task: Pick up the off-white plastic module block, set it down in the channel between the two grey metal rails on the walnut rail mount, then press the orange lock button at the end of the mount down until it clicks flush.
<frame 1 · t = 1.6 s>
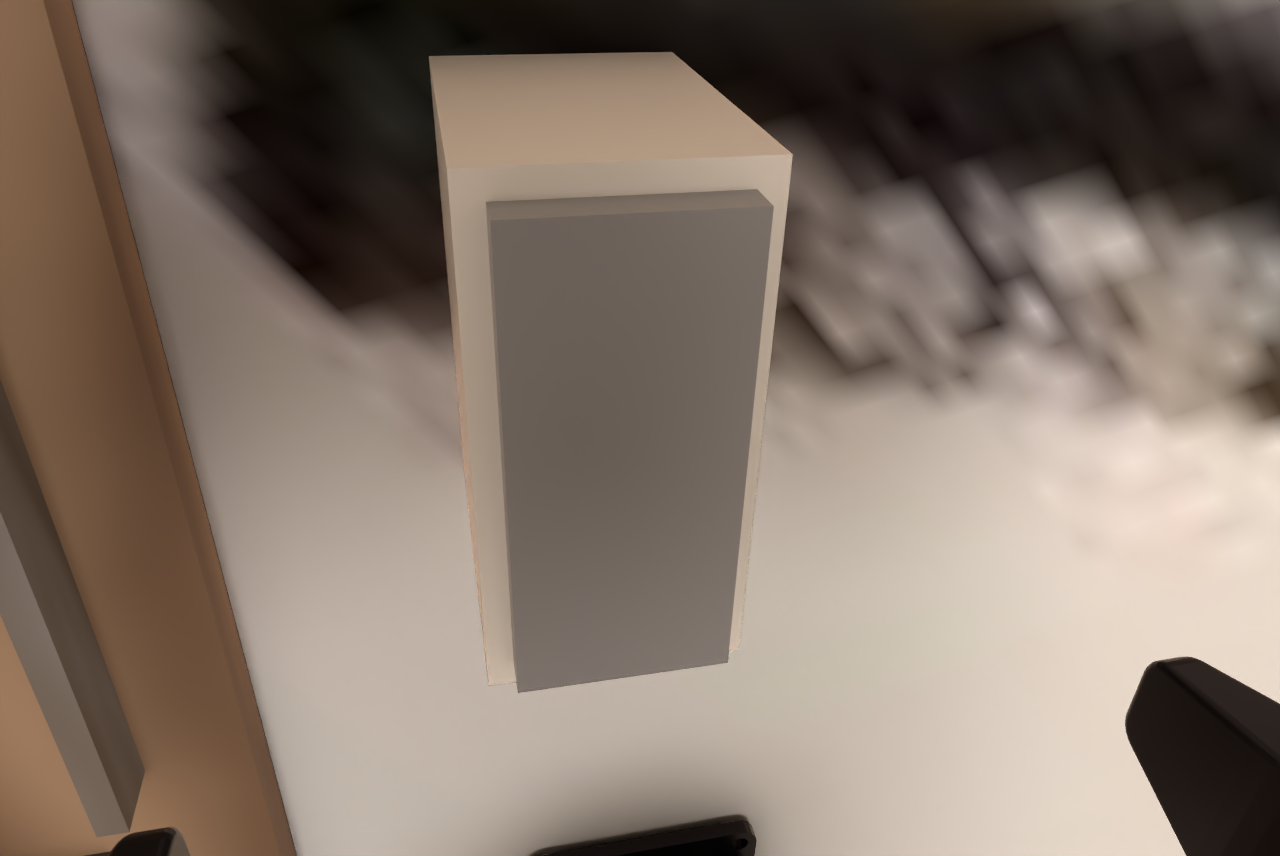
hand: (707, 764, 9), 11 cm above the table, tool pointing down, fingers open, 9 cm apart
module: (557, 279, 18), on the table
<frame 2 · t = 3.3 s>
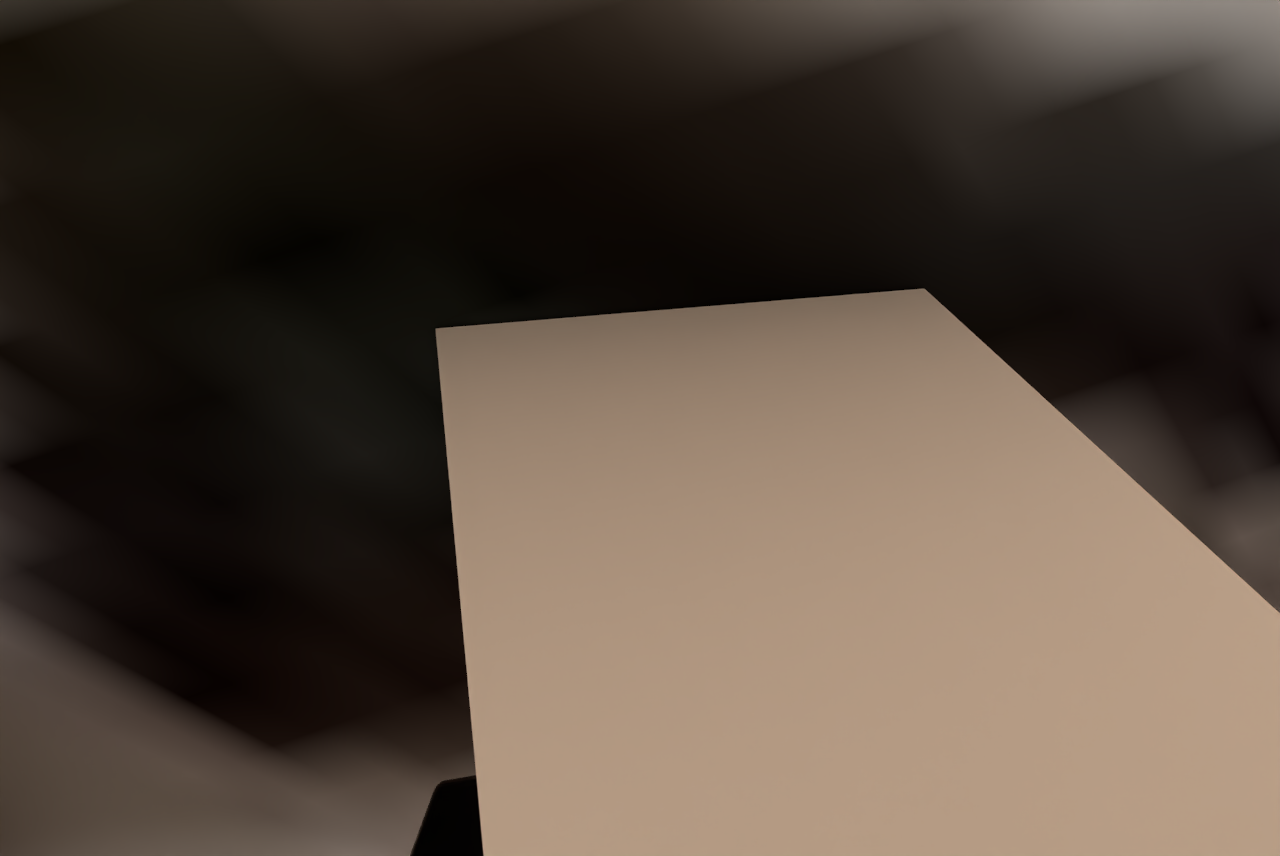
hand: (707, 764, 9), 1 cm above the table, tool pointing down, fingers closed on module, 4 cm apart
module: (674, 665, 10), on the table, touching gripper
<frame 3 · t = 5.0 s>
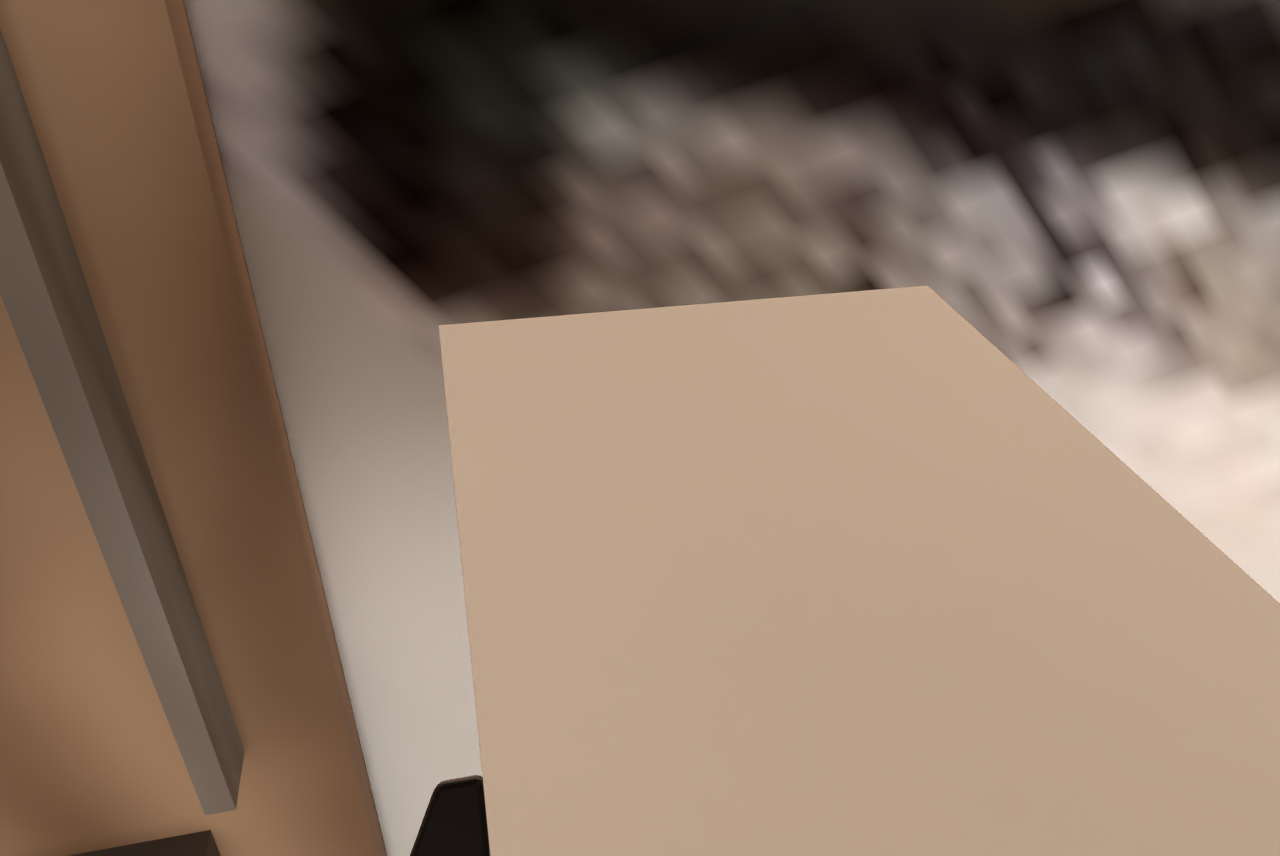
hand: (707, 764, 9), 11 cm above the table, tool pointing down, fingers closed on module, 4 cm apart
module: (676, 663, 10), point 10 cm above the table, touching gripper
when the fingers open (4 cm above the table, at t = 6.9 s): module drops 2 cm, resting on rail mount.
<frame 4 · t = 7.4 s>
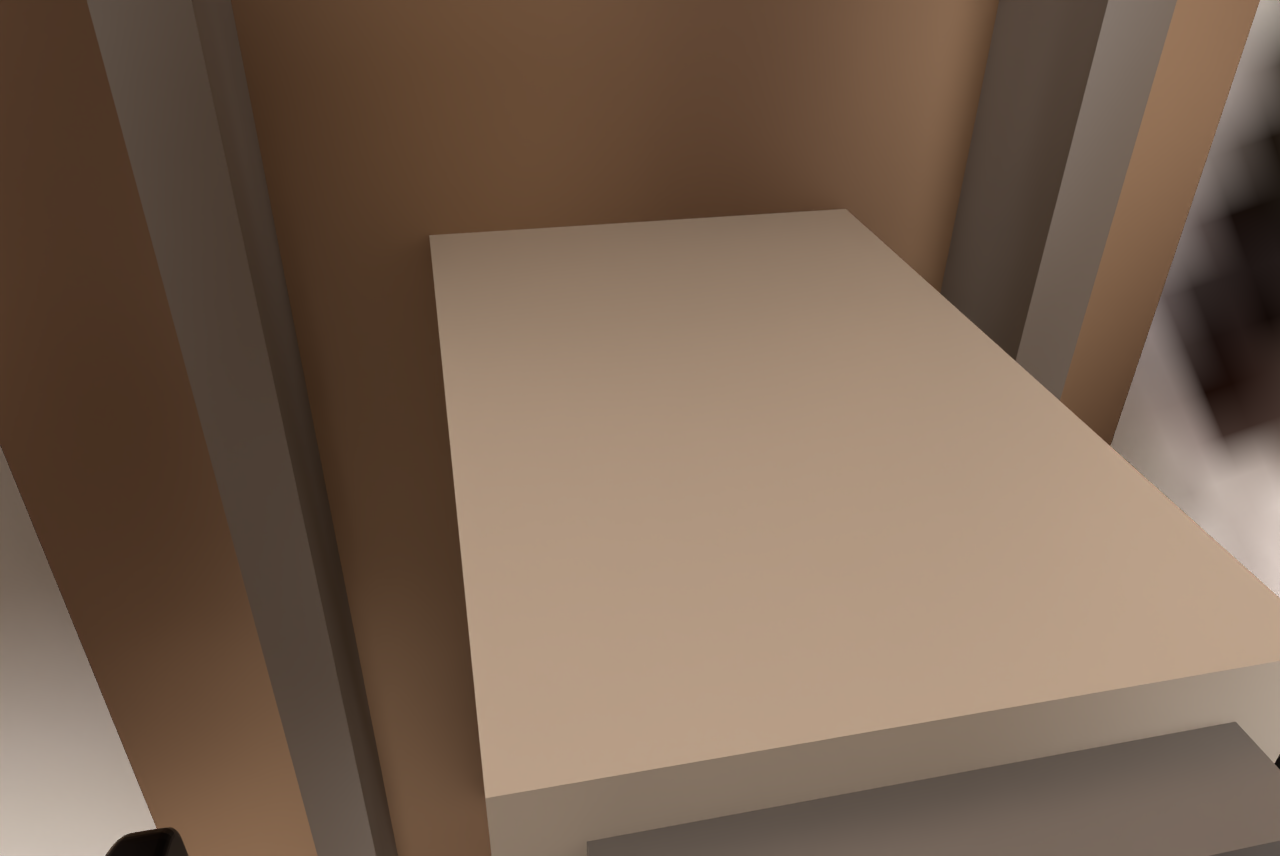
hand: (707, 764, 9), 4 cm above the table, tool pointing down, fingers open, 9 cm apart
module: (639, 550, 11), point 1 cm above the table, touching rail mount
rail mount: (614, 709, 14), on the table
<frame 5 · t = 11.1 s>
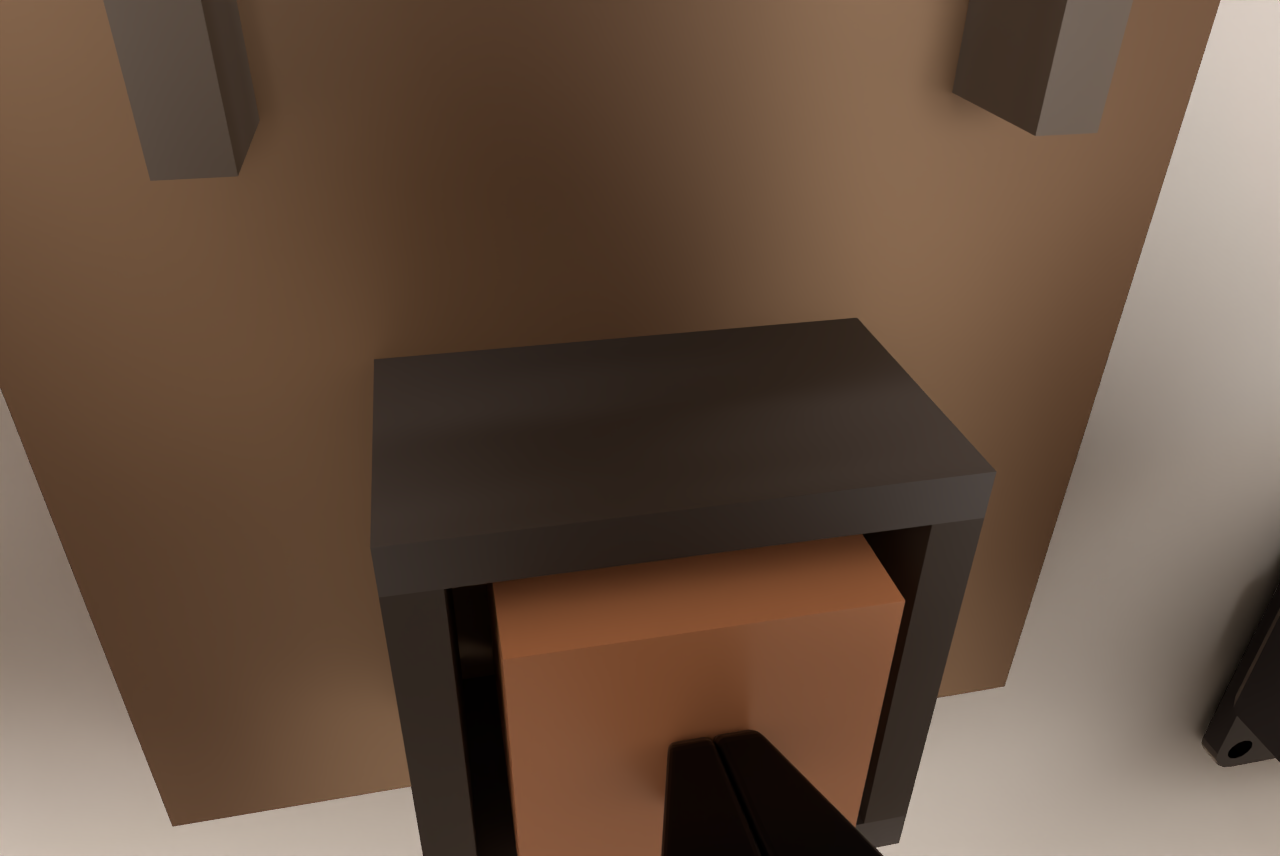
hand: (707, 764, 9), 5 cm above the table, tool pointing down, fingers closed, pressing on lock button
lock button: (663, 647, 10), point 3 cm above the table, slide at 1.1 cm, touching gripper
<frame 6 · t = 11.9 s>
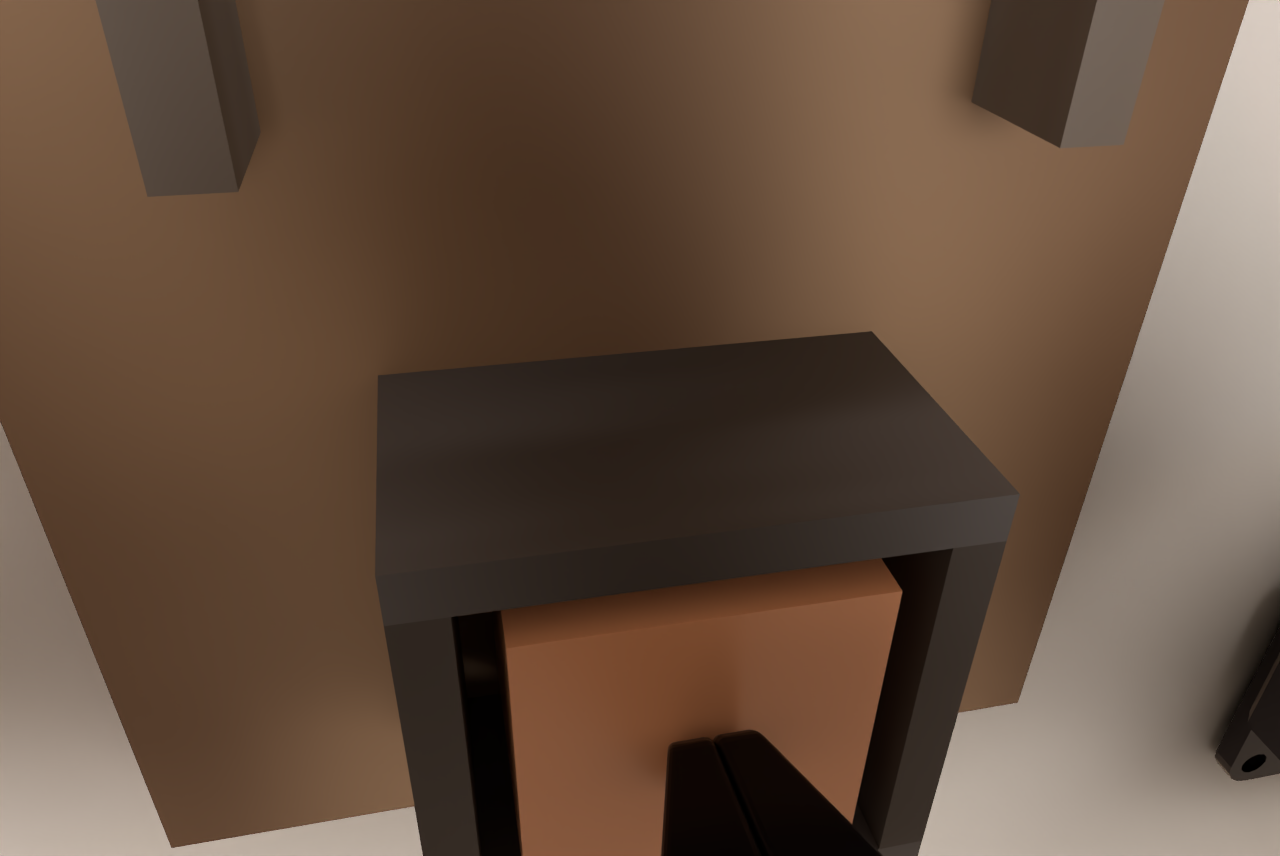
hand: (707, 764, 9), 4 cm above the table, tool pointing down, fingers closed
lock button: (663, 638, 10), point 3 cm above the table, slide at 1.6 cm
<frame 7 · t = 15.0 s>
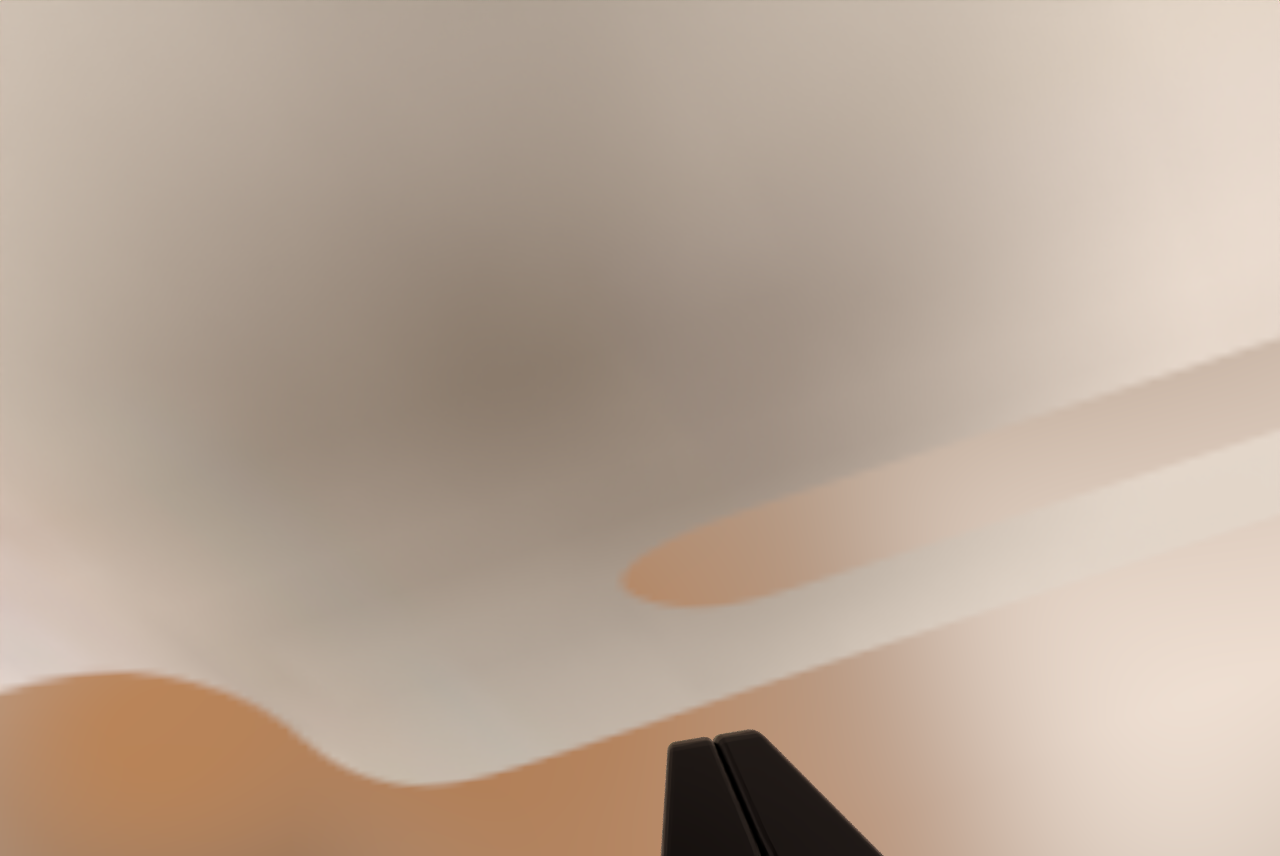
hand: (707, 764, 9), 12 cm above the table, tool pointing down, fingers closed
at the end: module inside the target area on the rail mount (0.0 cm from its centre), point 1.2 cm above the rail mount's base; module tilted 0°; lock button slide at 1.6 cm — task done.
